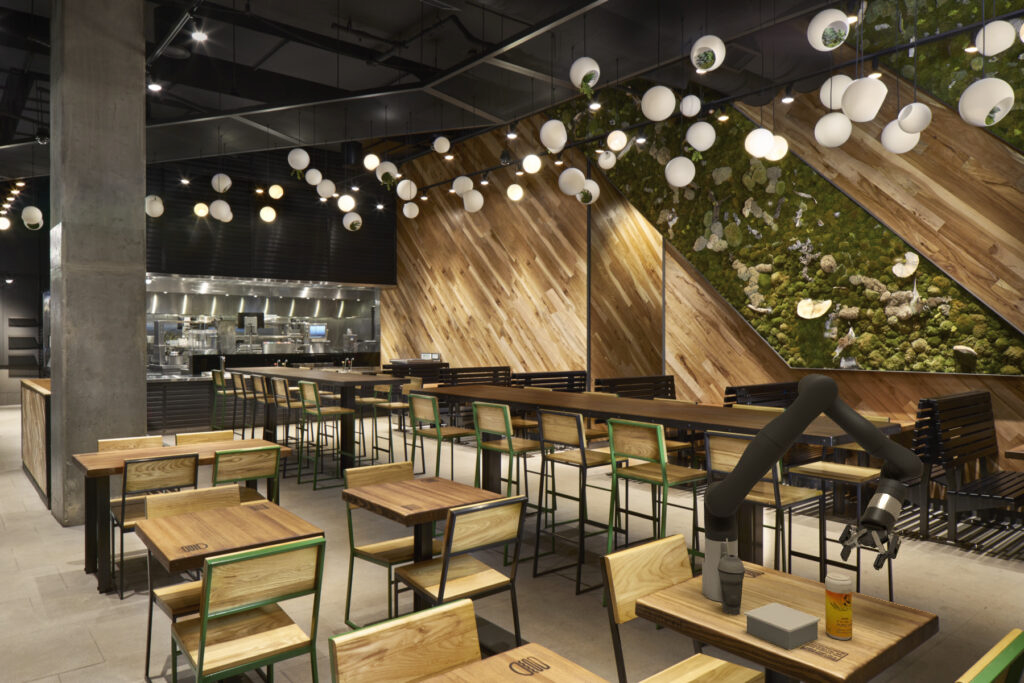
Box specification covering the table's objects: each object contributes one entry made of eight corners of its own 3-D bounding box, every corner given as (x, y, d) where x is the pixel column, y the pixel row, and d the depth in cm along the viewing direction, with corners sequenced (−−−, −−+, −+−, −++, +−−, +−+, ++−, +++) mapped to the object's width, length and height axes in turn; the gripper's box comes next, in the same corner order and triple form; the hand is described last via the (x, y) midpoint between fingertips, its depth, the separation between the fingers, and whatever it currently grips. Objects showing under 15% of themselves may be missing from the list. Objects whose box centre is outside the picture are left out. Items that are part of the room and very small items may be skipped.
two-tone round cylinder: (840, 642, 162) (840, 581, 162) (820, 633, 168) (819, 574, 168) (857, 638, 164) (857, 578, 165) (837, 629, 170) (836, 571, 170)
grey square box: (743, 632, 168) (743, 612, 168) (774, 621, 175) (774, 602, 175) (789, 651, 157) (789, 630, 157) (820, 638, 164) (820, 618, 164)
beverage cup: (738, 619, 176) (738, 544, 177) (712, 612, 181) (712, 539, 182) (749, 611, 182) (749, 539, 182) (724, 604, 186) (724, 534, 187)
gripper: (850, 500, 183) (827, 548, 176) (904, 511, 171) (881, 562, 165) (860, 517, 186) (838, 565, 179) (914, 528, 174) (892, 580, 167)
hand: (859, 564), depth 172 cm, fingers open, 8 cm apart
